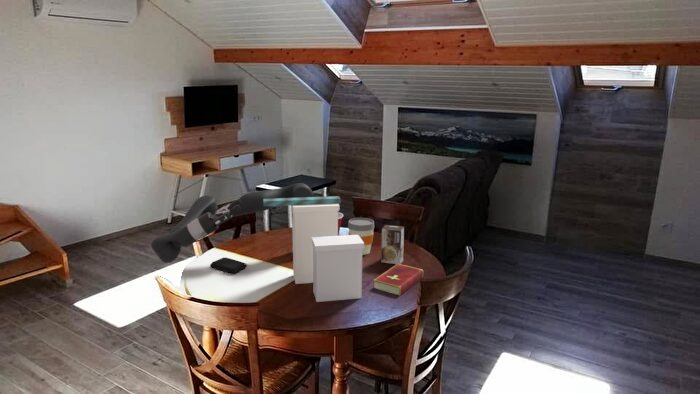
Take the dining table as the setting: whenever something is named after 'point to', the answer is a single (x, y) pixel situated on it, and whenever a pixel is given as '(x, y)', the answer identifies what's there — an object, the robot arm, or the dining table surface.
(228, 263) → the carrying case or bag
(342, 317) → the dining table surface
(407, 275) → the hardcover book
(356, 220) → the reusable coffee cup
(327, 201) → the slat
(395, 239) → the coffee box
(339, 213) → the plastic cup
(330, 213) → the tall stand
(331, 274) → the low stand
